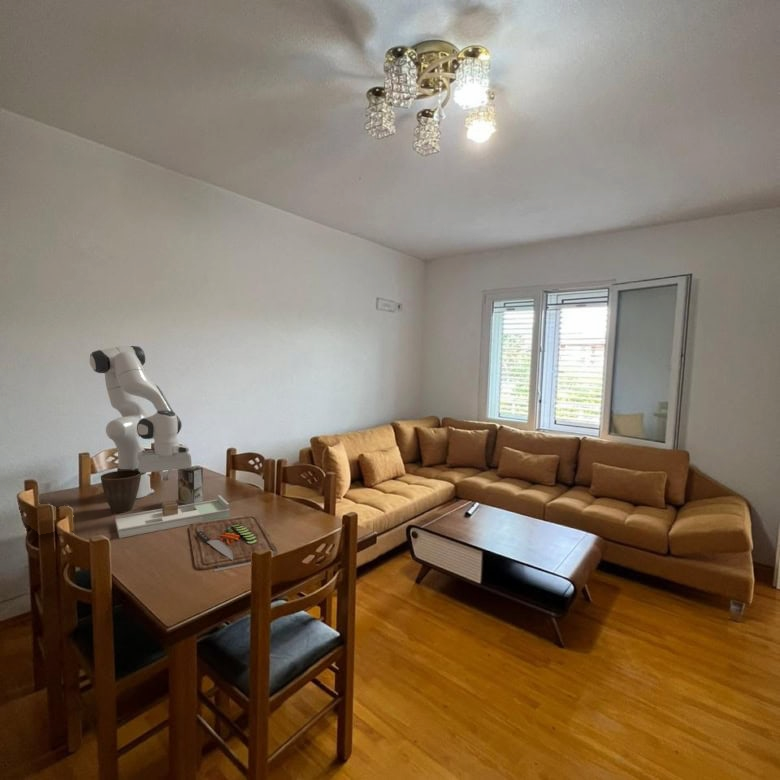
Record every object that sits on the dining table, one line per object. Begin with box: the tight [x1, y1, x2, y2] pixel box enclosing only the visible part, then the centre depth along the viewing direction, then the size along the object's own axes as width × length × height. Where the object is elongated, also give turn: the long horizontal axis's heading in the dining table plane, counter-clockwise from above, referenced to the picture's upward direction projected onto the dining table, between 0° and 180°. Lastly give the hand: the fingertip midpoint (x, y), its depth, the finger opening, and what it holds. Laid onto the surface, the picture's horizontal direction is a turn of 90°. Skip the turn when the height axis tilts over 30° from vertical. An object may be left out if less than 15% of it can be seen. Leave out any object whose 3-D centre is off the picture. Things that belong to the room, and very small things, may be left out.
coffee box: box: [177, 466, 204, 505], centre depth 196 cm, size 9×6×16 cm
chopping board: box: [188, 515, 279, 573], centre depth 157 cm, size 45×27×3 cm, turn 29°
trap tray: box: [115, 494, 231, 539], centre depth 173 cm, size 16×40×5 cm, turn 128°
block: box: [161, 500, 179, 516], centre depth 175 cm, size 5×5×4 cm
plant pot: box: [100, 470, 141, 514], centre depth 182 cm, size 15×15×16 cm
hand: (165, 480), depth 180 cm, fingers closed
